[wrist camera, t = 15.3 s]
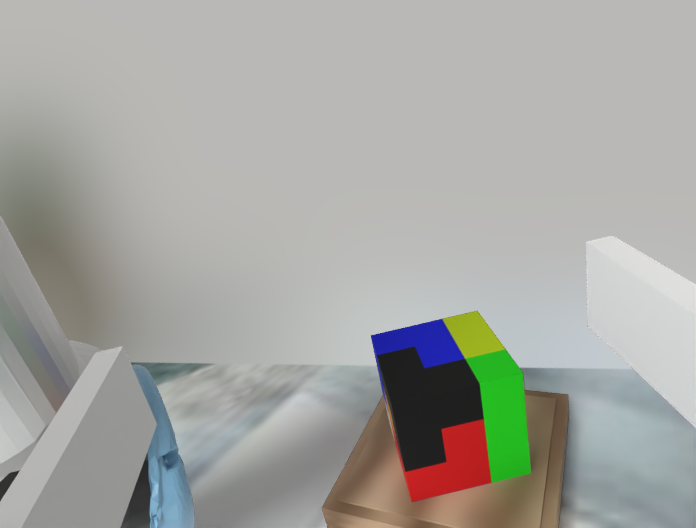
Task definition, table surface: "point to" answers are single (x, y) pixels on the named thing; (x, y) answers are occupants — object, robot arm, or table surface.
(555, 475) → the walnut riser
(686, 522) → the table surface
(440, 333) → the puzzle toy
